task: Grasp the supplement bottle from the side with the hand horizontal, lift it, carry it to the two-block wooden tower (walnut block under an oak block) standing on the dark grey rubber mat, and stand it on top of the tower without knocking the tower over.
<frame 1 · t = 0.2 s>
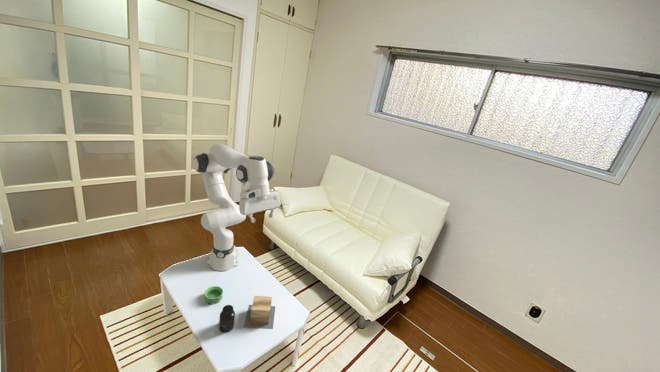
hand: (262, 219, 126), 52 cm above the table, tool tilted 20°, fingers open, 8 cm apart
mat: (260, 316, 137), on the table
ramekin: (213, 298, 142), on the table
supplement bottle: (226, 327, 128), on the table
tower top: (261, 309, 135), point 5 cm above the table, touching tower base
tower base: (260, 316, 136), resting on mat, touching tower top
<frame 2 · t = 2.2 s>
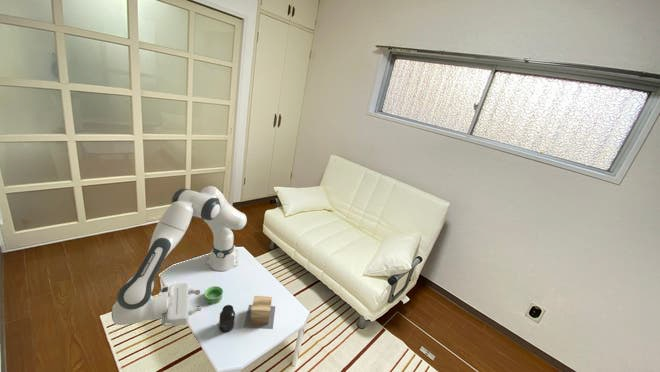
hand: (200, 299, 115), 21 cm above the table, tool horizontal, fingers open, 8 cm apart
nothing on the table moved.
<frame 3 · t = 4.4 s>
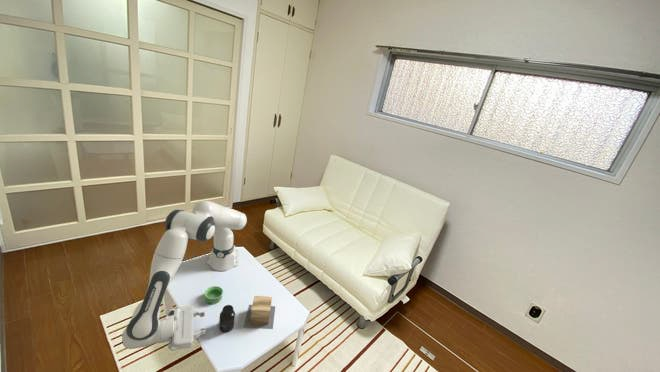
hand: (204, 322, 121), 6 cm above the table, tool horizontal, fingers open, 8 cm apart
nothing on the table moved.
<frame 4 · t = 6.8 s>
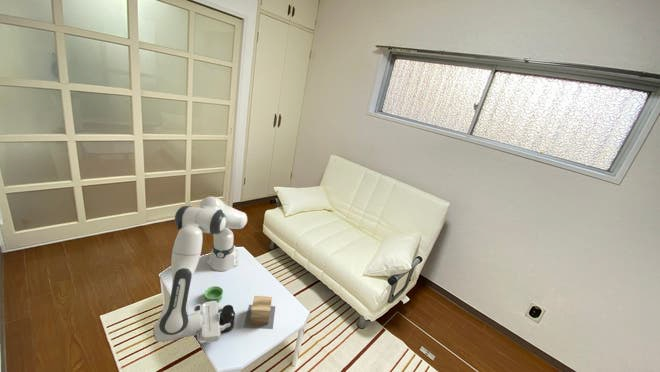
hand: (229, 316, 126), 7 cm above the table, tool horizontal, fingers closed on supplement bottle, 7 cm apart
supplement bottle: (226, 327, 128), on the table, touching gripper
everything else where it was.
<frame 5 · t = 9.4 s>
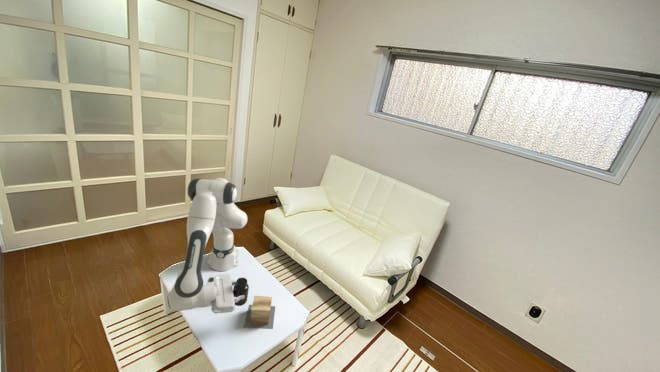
hand: (242, 289, 124), 21 cm above the table, tool horizontal, fingers closed on supplement bottle, 7 cm apart
supplement bottle: (239, 301, 126), point 15 cm above the table, touching gripper
everything else where it was.
when the fingers open (17 cm above the table, at t = 12.2 s): supplement bottle stays where it is, resting on tower top.
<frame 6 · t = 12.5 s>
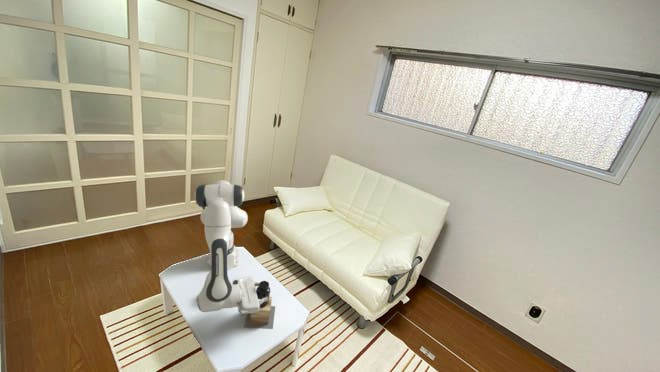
hand: (265, 291, 131), 17 cm above the table, tool horizontal, fingers open, 8 cm apart
supplement bottle: (261, 302, 134), point 9 cm above the table, touching tower top
tower top: (261, 309, 135), point 5 cm above the table, touching supplement bottle, tower base
everything else where it was.
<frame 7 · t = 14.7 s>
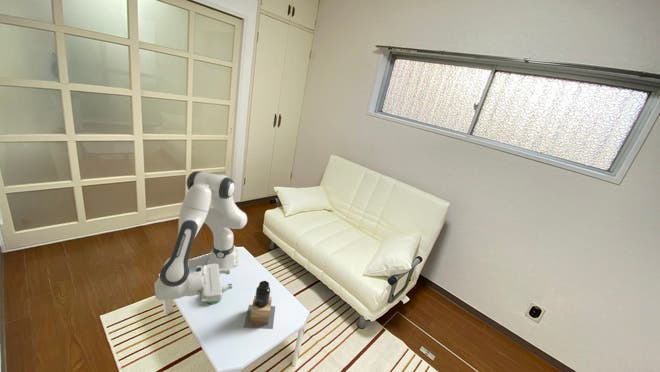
hand: (230, 278, 124), 25 cm above the table, tool horizontal, fingers open, 8 cm apart
nothing on the table moved.
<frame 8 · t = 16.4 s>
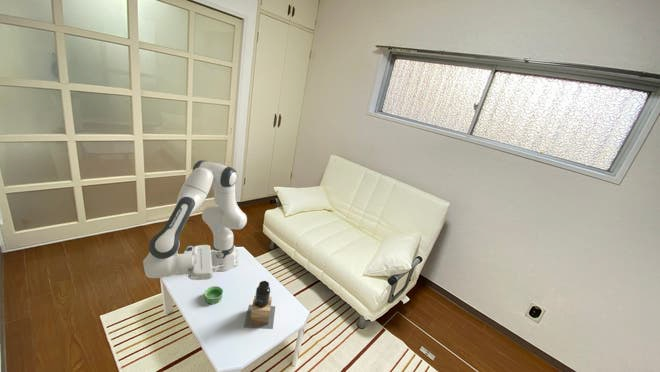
hand: (222, 259, 121), 34 cm above the table, tool horizontal, fingers open, 8 cm apart
nothing on the table moved.
at the end: supplement bottle inside the target area on the tower top (0.4 cm from its centre), point 4.3 cm above the tower top's base; supplement bottle tilted 0°; tower top tilted 0° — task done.
